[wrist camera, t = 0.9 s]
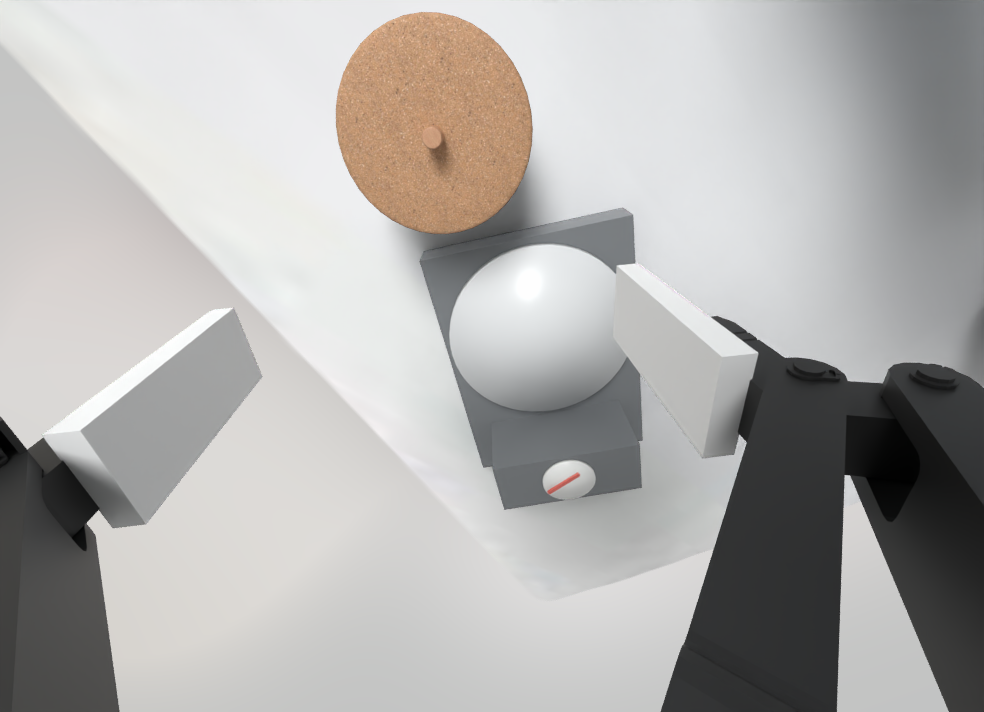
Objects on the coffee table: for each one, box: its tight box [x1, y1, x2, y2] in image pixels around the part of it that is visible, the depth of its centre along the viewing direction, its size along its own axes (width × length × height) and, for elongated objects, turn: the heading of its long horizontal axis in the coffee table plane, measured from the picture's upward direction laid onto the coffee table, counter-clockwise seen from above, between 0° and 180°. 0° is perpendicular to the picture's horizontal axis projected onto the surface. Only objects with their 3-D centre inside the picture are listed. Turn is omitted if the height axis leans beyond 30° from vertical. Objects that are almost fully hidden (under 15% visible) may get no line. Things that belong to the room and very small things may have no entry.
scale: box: [420, 208, 642, 510], centre depth 35 cm, size 16×22×9 cm
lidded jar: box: [336, 12, 533, 234], centre depth 26 cm, size 11×11×9 cm
